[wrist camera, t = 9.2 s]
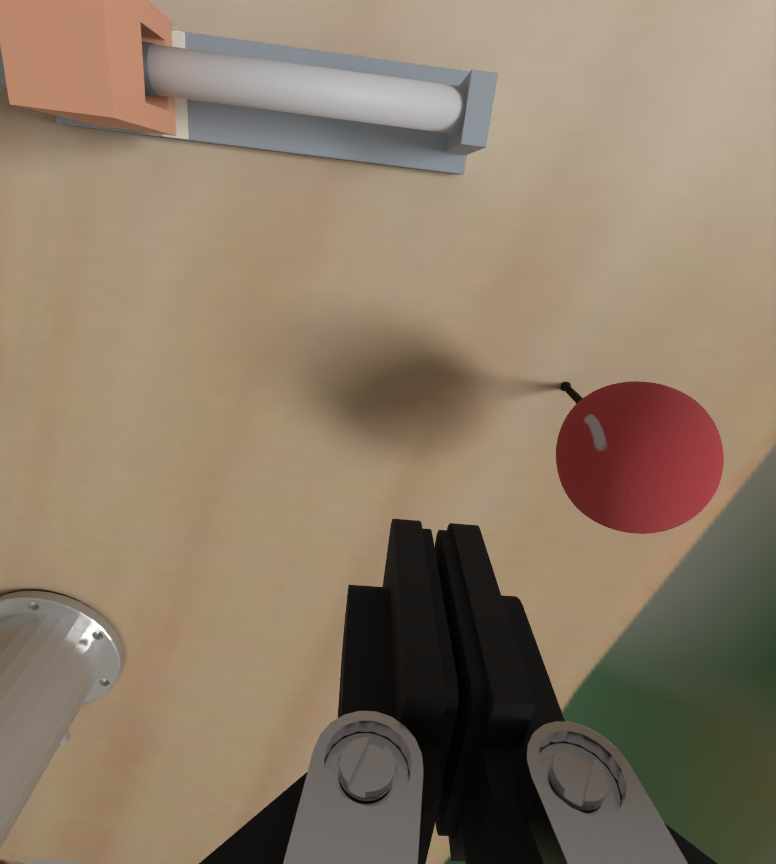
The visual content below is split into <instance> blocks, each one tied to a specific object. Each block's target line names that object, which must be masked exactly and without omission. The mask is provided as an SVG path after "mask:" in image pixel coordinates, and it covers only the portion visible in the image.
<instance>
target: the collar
mask: <svg viewBox="0 0 776 864" xmlns="http://www.w3.org/2000/svg"><path fill="white" fill-rule="evenodd" d="M142 41H144V42H151V43H154V44H156V45H163V46H171V47H172V27H171V20H170V19H168V18H167V17H166V16H165V15H164V14H163V13H161V12H160V11H159V10H158V9H157V8H156V7H154V6H153V5H152V4H151V3H150V2H149V1H147V0H0V45H1V52H2V58H3V65H4V71H5V78H6V85H7V91H8V98H9V104H10V105H14V106H18V107H22V108H26V109H30V110H34V111H38V112H43V113H47V114H51V115H55V116H59V117H63V118H67V119H71V120H75V121H79V122H83V123H87V124H91V125H96V126H101V127H109V128H116V129H124V130H132V131H140V132H148V133H156V134H164V135H172V136H176V117H175V98H174V97H167V96H159V97H157V96H150V95H145V86H144V70H143V55H142Z"/></svg>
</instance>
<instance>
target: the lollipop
mask: <svg viewBox="0 0 776 864" xmlns="http://www.w3.org/2000/svg"><path fill="white" fill-rule="evenodd" d="M561 389H562V390H563V391H566V393H567V394H568V395H569V396H570V397H571V398H572V399H573V400H574V401H575V402H576V403H577V404H576V405H575V406H574V407H573V409H572V410H571V411H570V412H569V414H568V415H567V417H566V419H565V421H564V422H563V425H562V427H561V429H560V432H559V436H558V440H557V446H556V463H557V470H558V474H559V478H560V481H561V484H562V486H563V488H564V490H565V492H566V494H567V496H568V497H569V499H570V500H571V501H572V503H573V504H574V505H575V506H576V507H577V508H578V509H579V510H580V511H581V512H582V513H583V514H585V515H586V516H587V517H589V518H590V519H592V520H593V521H595V522H597V523H599V524H601V525H603V526H606V527H608V528H611V529H614V530H618V531H622V532H628V533H640V534H645V533H656V532H662V531H666V530H669V529H672V528H675V527H677V526H679V525H682V524H684V523H685V522H687V521H689V520H690V519H692V518H693V517H695V516H696V515H697V514H698V513H699V512H701V511H702V510H703V508H704V507H705V506H706V505H707V504H708V503H709V501H710V500H711V499H712V497H713V495H714V494H715V492H716V490H717V488H718V485H719V483H720V480H721V476H722V471H723V447H722V442H721V438H720V435H719V432H718V430H717V428H716V425H715V423H714V422H713V420H712V418H711V417H710V415H709V414H708V413H707V412H706V410H705V409H704V408H703V407H702V406H701V405H700V404H699V403H698V402H696V401H695V400H694V399H692V398H691V397H689V396H688V395H686V394H685V393H682V392H680V391H678V390H676V389H673V388H671V387H668V386H665V385H661V384H656V383H649V382H623V383H617V384H613V385H609V386H606V387H603V388H601V389H598V390H596V391H594V392H592V393H590V394H589V395H587V396H586V397H584V398H582V397H581V396H580V395H579V394H578V393H577V392H576V391H575V390H573V389H572V388H571V385H570V383H569V382H564V383H562V385H561Z"/></svg>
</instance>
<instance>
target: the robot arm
mask: <svg viewBox="0 0 776 864" xmlns="http://www.w3.org/2000/svg"><path fill="white" fill-rule="evenodd" d="M123 663H124V651H123V646H122V644H121V641H120V638H119V636H118V635H117V633H116V632H115V630H114V629H113V627H112V626H111V625H110V624H109V623H108V622H107V621H106V620H105V619H104V618H103V617H102V616H101V615H100V614H98V613H97V612H96V611H94V610H93V609H92V608H90V607H88V606H86V605H84V604H83V603H81V602H79V601H76V600H74V599H71V598H69V597H66V596H63V595H59V594H54V593H50V592H41V591H19V592H14V593H9V594H5V595H3V596H0V848H1V846H2V845H3V843H4V841H5V839H6V838H7V836H8V834H9V832H10V831H11V829H12V827H13V825H14V824H15V822H16V820H17V818H18V816H19V815H20V813H21V811H22V809H23V808H24V806H25V804H26V802H27V801H28V799H29V797H30V795H31V794H32V792H33V790H34V788H35V787H36V785H37V783H38V781H39V780H40V778H41V776H42V774H43V773H44V771H45V769H46V767H47V766H48V764H49V762H50V760H51V758H52V757H53V755H54V753H55V751H56V750H57V748H58V747H59V746H62V745H64V744H66V743H67V742H68V741H69V738H70V734H69V727H70V725H71V723H72V722H73V720H74V718H75V716H76V715H77V713H78V711H79V709H80V707H81V706H82V705H83V704H86V703H89V702H91V701H94V700H96V699H98V698H100V697H101V696H103V695H105V694H106V693H107V692H108V691H109V690H110V689H111V688H112V687H113V685H114V684H115V682H116V680H117V679H118V677H119V675H120V672H121V670H122V668H123ZM435 821H436V829H437V833H438V835H439V836H449V844H450V853H451V860H452V861H466V864H717V863H716V862H714V861H713V860H712V859H710V858H709V857H708V856H706V855H705V854H704V853H703V852H701V851H700V850H699V849H697V848H696V847H695V846H693V845H692V844H691V843H690V842H688V841H687V840H685V839H684V838H683V837H682V836H680V835H679V834H678V833H676V832H675V831H674V830H673V829H671V828H670V827H669V826H667V825H666V824H665V823H664V822H663V820H662V819H661V817H660V815H659V814H658V812H657V810H656V809H655V807H654V805H653V804H652V802H651V800H650V799H649V797H648V795H647V793H646V792H645V790H644V788H643V787H642V785H641V783H640V782H639V780H638V778H637V777H636V775H635V773H634V772H633V770H632V768H631V767H630V765H629V764H628V762H627V761H626V759H625V758H624V757H623V755H622V754H621V753H620V751H619V750H618V749H617V748H616V747H615V746H614V745H612V744H611V743H610V742H609V741H608V740H607V739H606V738H604V737H603V736H602V735H600V734H598V733H597V732H595V731H593V730H591V729H589V728H588V727H585V726H582V725H579V724H576V723H573V722H565V720H564V718H563V715H562V712H561V709H560V707H559V704H558V701H557V698H556V696H555V693H554V690H553V687H552V685H551V682H550V679H549V676H548V674H547V671H546V668H545V666H544V663H543V660H542V657H541V655H540V652H539V649H538V646H537V644H536V641H535V638H534V635H533V633H532V630H531V627H530V624H529V622H528V619H527V616H526V613H525V611H524V608H523V605H522V603H521V601H520V599H518V598H517V597H514V596H501V594H500V591H499V587H498V584H497V581H496V578H495V575H494V572H493V569H492V565H491V562H490V559H489V556H488V553H487V550H486V547H485V544H484V540H483V537H482V534H481V531H480V528H479V526H477V525H464V524H452V523H450V524H449V526H448V528H447V531H446V530H439V531H438V533H437V537H436V542H435V548H434V542H433V537H432V531H431V529H422V525H421V522H420V521H414V520H401V519H392V523H391V529H390V536H389V544H388V551H387V559H386V566H385V574H384V581H383V587H371V586H357V585H349V587H348V595H347V605H346V615H345V625H344V637H343V649H342V662H341V677H340V692H339V707H338V719H336V720H334V721H333V722H331V723H330V724H329V725H328V726H327V728H326V729H325V730H324V731H323V732H322V733H321V734H320V736H319V738H318V741H317V743H316V745H315V747H314V750H313V753H312V757H311V761H310V765H309V768H308V772H307V773H305V774H304V775H303V776H302V777H301V778H300V779H298V780H297V781H296V782H295V783H294V784H293V785H291V786H290V787H289V788H288V789H287V790H285V791H284V792H283V793H282V794H281V795H280V796H278V797H277V798H276V799H275V800H274V801H272V802H271V803H270V804H269V805H268V806H267V807H265V808H264V809H263V810H262V811H261V812H259V813H258V814H257V815H256V816H255V817H254V818H252V819H251V820H250V821H249V822H248V823H247V824H245V825H244V826H243V827H242V828H241V829H239V830H238V831H237V832H236V833H235V834H234V835H232V836H231V837H230V838H229V839H228V840H226V841H225V842H224V843H223V844H222V845H221V846H219V847H218V848H217V849H216V850H215V851H213V852H212V853H211V854H210V855H209V856H208V857H206V858H205V859H204V860H203V861H202V862H201V863H199V864H425V863H426V858H427V854H428V850H429V846H430V842H431V837H432V833H433V829H434V825H435Z"/></svg>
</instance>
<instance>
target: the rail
mask: <svg viewBox="0 0 776 864" xmlns="http://www.w3.org/2000/svg"><path fill="white" fill-rule="evenodd" d="M142 55H143V70H144V86H145V95H150V96H157V97H159V96H167V97H174V98H175V117H176V136H172V135H164V134H156V133H148V132H140V131H132V130H124V129H116V128H109V127H101V126H96V125H91V124H87V123H83V122H79V121H75V120H71V119H67V118H63V117H59V116H55V117H56V123H59V124H63V125H69V126H77V127H85V128H93V129H101V130H109V131H117V132H125V133H133V134H141V135H149V136H157V137H165V138H173V139H181V140H189V141H197V142H205V143H213V144H221V145H229V146H237V147H245V148H253V149H261V150H269V151H277V152H285V153H293V154H301V155H309V156H317V157H325V158H333V159H341V160H349V161H357V162H365V163H373V164H381V165H389V166H396V167H404V168H412V169H420V170H428V171H436V172H444V173H452V174H460V175H462V174H464V169H465V162H466V156H467V155H468V154H470V153H472V152H475V151H477V150H480V149H482V148H485V147H486V142H487V136H488V130H489V124H490V118H491V112H492V106H493V100H494V94H495V88H496V81H497V75H498V73H493V72H486V71H479V70H471V72H467V71H460V70H453V69H446V68H439V67H431V66H424V65H417V64H410V63H403V62H395V61H388V60H381V59H374V58H367V57H359V56H352V55H345V54H338V53H331V52H324V51H316V50H309V49H302V48H295V47H288V46H280V45H273V44H266V43H259V42H252V41H244V40H237V39H230V38H223V37H216V36H208V35H201V34H194V33H187V32H182V31H175V30H172V47H171V46H163V45H156V44H154V43H151V42H144V41H142ZM0 87H3V88H6V89H7V85H6V78H5V71H4V65H3V58H2V52H1V45H0Z"/></svg>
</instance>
